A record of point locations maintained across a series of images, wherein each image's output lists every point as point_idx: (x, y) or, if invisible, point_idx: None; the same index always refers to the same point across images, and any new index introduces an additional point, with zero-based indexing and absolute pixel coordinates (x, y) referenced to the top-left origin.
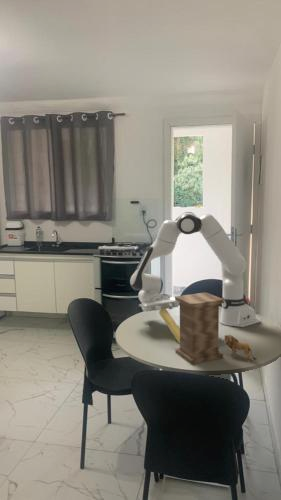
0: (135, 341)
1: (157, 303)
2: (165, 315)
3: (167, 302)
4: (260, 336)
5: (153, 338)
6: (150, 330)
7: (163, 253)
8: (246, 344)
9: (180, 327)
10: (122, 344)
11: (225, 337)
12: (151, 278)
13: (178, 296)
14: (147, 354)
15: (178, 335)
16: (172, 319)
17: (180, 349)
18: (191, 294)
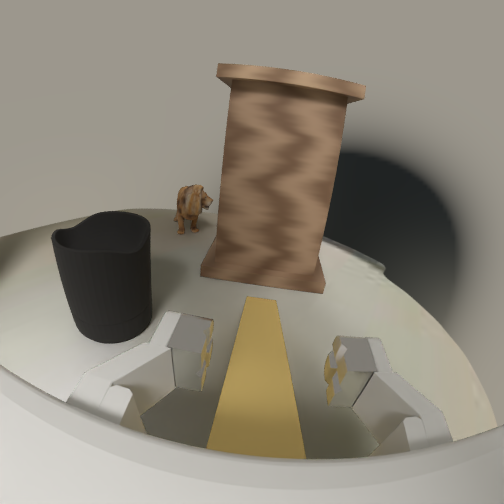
0: (451, 421)
1: (422, 457)
2: (284, 393)
3: (118, 425)
4: (35, 241)
5: (364, 430)
6: None
7: None
8: (187, 186)
9: (330, 196)
10: (490, 405)
11: (201, 194)
12: None
13: (352, 83)
14: (411, 317)
15: (275, 306)
16: (239, 353)
17: (313, 272)
18: (291, 70)
